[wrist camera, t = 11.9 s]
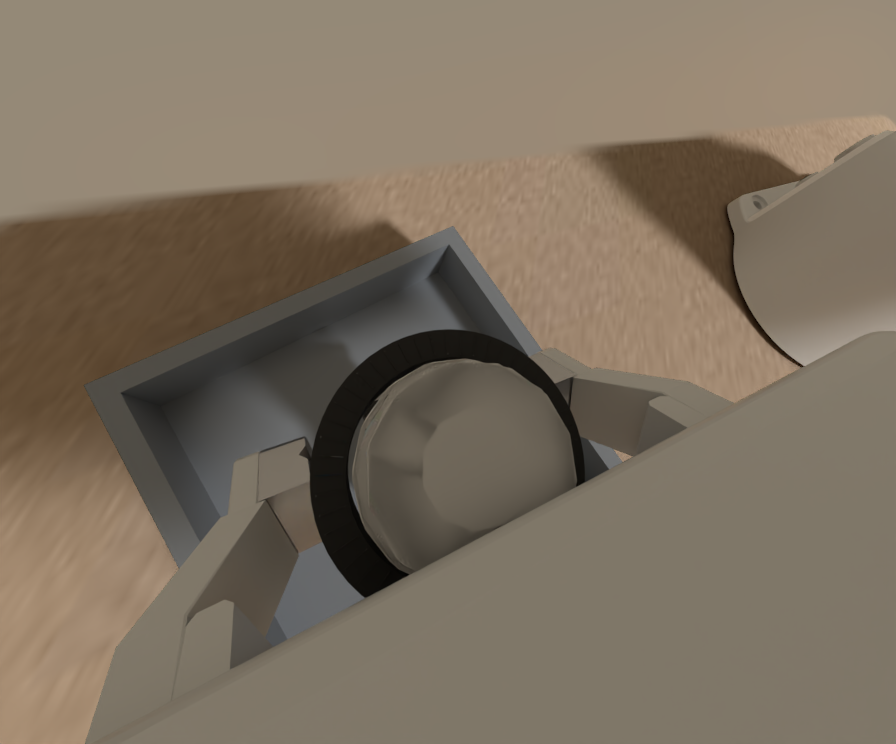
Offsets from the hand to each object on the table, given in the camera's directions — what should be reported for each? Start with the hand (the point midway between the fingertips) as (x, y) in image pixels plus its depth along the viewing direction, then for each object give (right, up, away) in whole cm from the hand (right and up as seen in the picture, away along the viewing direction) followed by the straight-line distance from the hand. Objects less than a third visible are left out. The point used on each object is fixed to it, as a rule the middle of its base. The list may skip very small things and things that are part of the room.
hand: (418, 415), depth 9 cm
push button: (-2, -2, +6) cm, 6 cm away
